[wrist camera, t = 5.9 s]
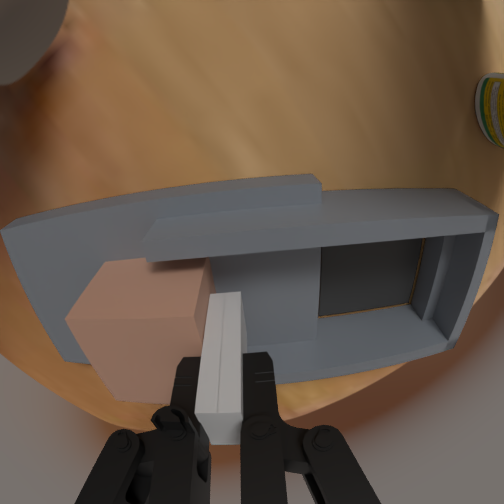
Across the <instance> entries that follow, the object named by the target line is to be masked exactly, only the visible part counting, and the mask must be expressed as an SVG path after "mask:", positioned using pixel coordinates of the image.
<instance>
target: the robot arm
mask: <svg viewBox="0 0 504 504" xmlns="http://www.w3.org/2000/svg"><path fill="white" fill-rule="evenodd" d="M151 421H152V423H153V424H154V425H155V427H156V428H157V429H155V430H152V431H148V432H143V433H139V434H135V433H134V432H132V431H131V430H127V429H121V430H117V431H115V432H114V433H112V435H111V436H110V437H109V438H108V440H107V442H106V444H105V446H104V448H103V450H102V451H101V453H100V455H99V457H98V459H97V461H96V463H95V465H94V467H93V469H92V470H91V472H90V474H89V476H88V478H87V480H86V482H85V484H84V486H83V488H82V490H81V492H80V494H79V496H78V498H77V500H76V502H75V504H210V479H211V476H210V475H211V454H210V452H209V441H210V443H211V444H212V445H236V444H240V447H241V449H240V456H241V457H240V460H241V504H288V502H287V492H286V481H285V471H287V472H292V473H299V474H302V475H303V478H304V480H305V482H306V484H307V486H308V489H309V491H310V493H311V495H312V498H313V500H314V502H315V504H381V503H380V501H379V499H378V497H377V496H376V494H375V492H374V490H373V488H372V487H371V485H370V483H369V481H368V480H367V478H366V476H365V474H364V473H363V471H362V469H361V467H360V466H359V464H358V462H357V460H356V458H355V457H354V455H353V453H352V452H351V450H350V448H349V446H348V444H347V442H346V441H345V439H344V437H343V435H342V434H341V433H340V431H339V430H338V429H336V428H334V427H332V426H328V425H321V426H315V427H314V428H312V429H310V430H309V429H302V428H296V427H293V426H290V425H288V424H286V423H285V422H284V421H283V420H282V419H281V417H280V416H279V412H278V404H277V394H276V385H275V376H274V366H273V360H272V358H271V357H270V355H269V354H268V352H267V351H266V352H255V353H247V330H246V324H245V317H244V310H243V304H242V297H241V291H239V292H228V293H216V294H210V297H209V304H208V311H207V318H206V325H205V332H204V339H203V347H202V355H201V356H200V357H183V358H182V360H181V361H180V363H179V364H178V366H177V369H176V374H175V379H174V387H173V390H172V395H171V401H170V406H165V407H162V408H160V409H158V410H157V411H156V412H155V413H154V414H153V416H152V419H151Z"/></svg>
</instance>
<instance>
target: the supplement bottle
mask: <svg viewBox="0 0 504 504" xmlns="http://www.w3.org/2000/svg"><path fill="white" fill-rule="evenodd" d="M475 110H476V115H477V119H478V122H479V125H480V128H481V129H482V131H483V133H484V135H485V136H486V137H487V139H488V140H489V141H491V142H492V143H493V144H495V145H497V146H499V147H502V148H504V73H489V74H486V75H485V76H483V77H482V78H481V80H480V81H479V83H478V86H477V91H476V95H475Z"/></svg>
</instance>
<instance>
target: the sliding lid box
mask: <svg viewBox="0 0 504 504" xmlns="http://www.w3.org/2000/svg"><path fill="white" fill-rule="evenodd" d="M498 217H499V214H497V213H496V212H494V211H493V210H491V209H489V208H488V207H486V206H484V205H483V204H481V203H479V202H478V201H476V200H474V199H473V198H471V197H469V196H467V195H465V194H464V193H462V192H460V191H458V190H456V189H448V188H397V189H359V190H335V191H322V184H321V182H320V181H319V180H318V179H317V178H316V177H315V176H314V175H313V174H301V175H285V176H271V177H259V178H248V179H237V180H227V181H218V182H209V183H201V184H193V185H186V186H178V187H171V188H164V189H158V190H151V191H145V192H139V193H133V194H127V195H121V196H116V197H110V198H105V199H100V200H95V201H90V202H85V203H80V204H76V205H71V206H66V207H62V208H58V209H53V210H49V211H45V212H41V213H37V214H33V215H29V216H25V217H21V218H18V219H15V220H14V221H13V222H11V223H10V224H8V225H7V226H6V227H4V228H3V229H1V230H0V232H1V235H2V238H3V241H4V243H5V246H6V249H7V251H8V254H9V256H10V259H11V261H12V264H13V266H14V269H15V271H16V273H17V275H18V278H19V280H20V282H21V284H22V286H23V289H24V291H25V293H26V295H27V297H28V299H29V301H30V303H31V305H32V307H33V309H34V310H35V312H36V314H37V316H38V318H39V320H40V322H41V323H42V325H43V327H44V329H45V330H46V332H47V334H48V335H49V337H50V339H51V340H52V342H53V344H54V345H55V347H56V348H57V350H58V352H59V353H60V355H61V356H62V358H63V359H64V361H67V362H75V363H84V364H91V363H90V362H89V360H88V359H87V357H86V355H85V354H84V352H83V351H82V349H81V347H80V346H79V344H78V342H77V341H76V339H75V337H74V335H73V334H72V332H71V330H70V328H69V326H68V325H67V323H66V321H65V318H66V316H67V315H68V313H69V312H70V310H71V309H72V307H73V306H74V304H75V303H76V301H77V300H78V298H79V297H80V295H81V294H82V293H83V291H84V290H85V288H86V287H87V286H88V284H89V283H90V281H91V280H92V279H93V277H94V276H95V275H96V273H97V272H98V271H99V269H100V268H101V267H102V265H103V264H104V263H105V262H108V261H117V260H127V259H137V258H146V261H147V262H158V261H169V260H180V259H192V258H203V257H209V259H210V264H211V270H212V275H213V280H214V285H215V290H216V293H228V292H239V291H241V297H242V304H243V310H244V317H245V324H246V330H247V353H255V352H266V351H267V352H268V354H269V355H270V357H271V358H272V360H273V366H274V376H275V384H285V383H294V382H302V381H310V380H317V379H324V378H331V377H337V376H343V375H348V374H354V373H359V372H364V371H369V370H374V369H378V368H383V367H387V366H391V365H396V364H400V363H404V362H408V361H411V360H415V359H419V358H422V357H426V356H429V355H433V354H436V353H439V352H443V351H446V350H449V349H452V348H454V346H455V344H456V342H457V340H458V338H459V336H460V333H461V331H462V329H463V327H464V324H465V322H466V320H467V317H468V315H469V312H470V310H471V307H472V305H473V302H474V300H475V297H476V294H477V292H478V289H479V286H480V283H481V280H482V277H483V274H484V271H485V268H486V264H487V261H488V257H489V254H490V250H491V247H492V243H493V239H494V235H495V230H496V226H497V221H498ZM423 238H426V240H425V245H424V250H423V255H422V260H421V265H420V269H419V274H418V278H417V282H416V286H415V290H414V294H413V298H412V302H411V304H409V305H404V306H398V307H393V308H387V309H381V310H375V311H369V312H362V313H356V314H349V315H342V316H334V317H327V318H319V319H318V314H319V316H323V315H331V314H339V313H346V312H353V311H360V310H366V309H373V308H379V307H385V306H391V305H397V304H402V303H408V302H409V298H410V295H411V291H412V287H413V282H414V278H415V274H416V269H417V265H418V260H419V255H420V250H421V244H422V239H423Z"/></svg>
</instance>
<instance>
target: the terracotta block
mask: <svg viewBox="0 0 504 504" xmlns="http://www.w3.org/2000/svg"><path fill="white" fill-rule="evenodd" d="M210 294H216V290H215V285H214V280H213V275H212V270H211V264H210V259H209V257H203V258H192V259H180V260H169V261H158V262H147V261H146V258H137V259H127V260H117V261H108V262H105V263H104V264H103V265H102V267H101V268H100V269H99V271H98V272H97V273H96V275H95V276H94V277H93V279H92V280H91V281H90V283H89V284H88V286H87V287H86V288H85V290H84V291H83V293H82V294H81V295H80V297H79V298H78V300H77V301H76V303H75V304H74V306H73V307H72V309H71V310H70V312H69V313H68V315H67V316H66V318H65V321H66V323H67V325H68V326H69V328H70V330H71V332H72V334H73V335H74V337H75V339H76V341H77V342H78V344H79V346H80V347H81V349H82V351H83V352H84V354H85V355H86V357H87V359H88V360H89V362H90V363H91V365H92V366H93V368H94V369H95V371H96V372H97V374H98V375H99V377H100V378H101V380H102V381H103V383H104V384H105V386H106V387H107V388H108V390H109V391H110V393H111V394H112V395H113V397H114V398H115V399H116V400H119V401H128V402H140V403H154V404H170V401H171V395H172V390H173V387H174V379H175V374H176V369H177V366H178V364H179V363H180V361H181V360H182V358H183V357H200V356H201V355H202V347H203V339H204V332H205V325H206V318H207V311H208V304H209V297H210Z"/></svg>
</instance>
